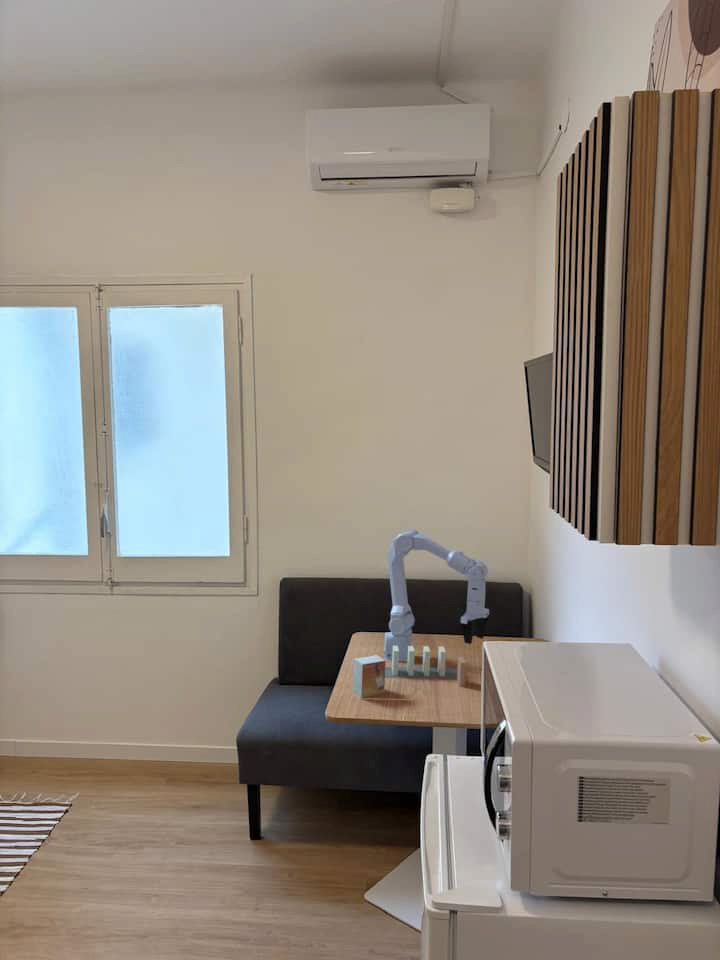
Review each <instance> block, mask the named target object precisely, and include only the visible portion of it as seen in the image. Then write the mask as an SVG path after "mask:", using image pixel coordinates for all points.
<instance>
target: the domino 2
mask: <svg viewBox="0 0 720 960" xmlns="http://www.w3.org/2000/svg"><path fill="white" fill-rule="evenodd" d="M406 663H407V665H406V667H407V671H408V675H409V676H414V668H415V648H414V645H412V646H408V662H406Z"/></svg>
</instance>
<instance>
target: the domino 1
mask: <svg viewBox="0 0 720 960" xmlns="http://www.w3.org/2000/svg"><path fill="white" fill-rule="evenodd" d="M399 663H400V661H399V649H398V646H393V653H392V661H391V667H392V672H393V675H398V667H399Z"/></svg>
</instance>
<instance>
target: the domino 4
mask: <svg viewBox="0 0 720 960" xmlns="http://www.w3.org/2000/svg"><path fill="white" fill-rule="evenodd" d="M437 655H438V656H437V658H438V659H437V668H438V672H439V675H440V676H445V668H446V662H447V661H446V659H447V658H446V657H447V651H446V649H445V647H444V646H438V653H437Z"/></svg>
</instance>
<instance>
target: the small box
mask: <svg viewBox="0 0 720 960" xmlns="http://www.w3.org/2000/svg"><path fill="white" fill-rule="evenodd" d="M385 667H386V661H385V659H383V658H382V657H381V656H379V655H377V654H375V655H370V656H365V657H355V658H354V659H353V679H352V680H353V683H352V692H354V693H355V694H356V695H357V696H358V697H359V698H360V699H364V698H368V697H374V696H378V695H379V696H380V695H383V694H385V684H386V678H385Z"/></svg>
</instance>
